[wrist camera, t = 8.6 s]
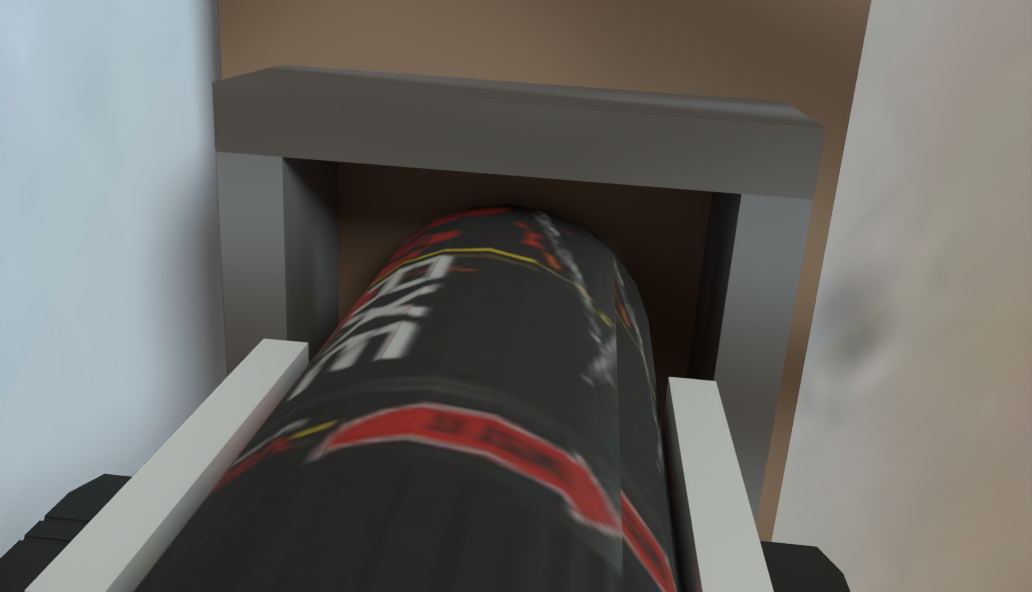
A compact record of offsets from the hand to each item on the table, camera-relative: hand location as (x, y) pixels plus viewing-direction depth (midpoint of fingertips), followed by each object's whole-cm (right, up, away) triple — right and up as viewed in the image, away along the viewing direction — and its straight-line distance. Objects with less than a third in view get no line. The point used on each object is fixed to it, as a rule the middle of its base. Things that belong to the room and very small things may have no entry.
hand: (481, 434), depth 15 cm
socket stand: (+1, +2, +7) cm, 7 cm away
